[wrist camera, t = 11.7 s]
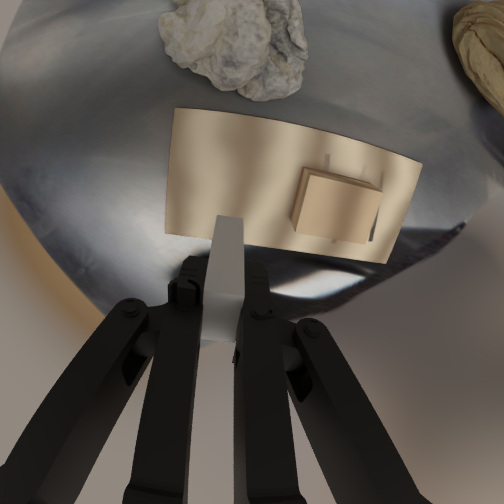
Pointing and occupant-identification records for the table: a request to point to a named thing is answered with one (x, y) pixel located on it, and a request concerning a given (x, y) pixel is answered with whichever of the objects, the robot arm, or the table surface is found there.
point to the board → (275, 180)
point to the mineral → (239, 44)
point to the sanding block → (334, 206)
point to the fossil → (482, 47)
